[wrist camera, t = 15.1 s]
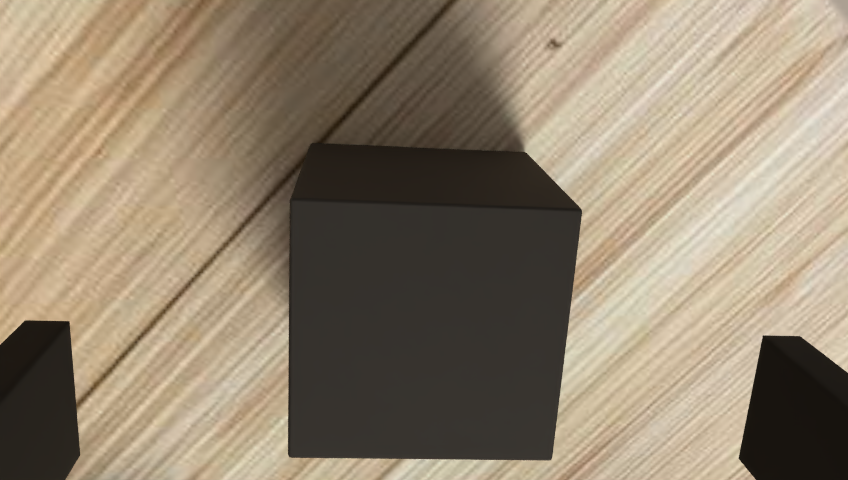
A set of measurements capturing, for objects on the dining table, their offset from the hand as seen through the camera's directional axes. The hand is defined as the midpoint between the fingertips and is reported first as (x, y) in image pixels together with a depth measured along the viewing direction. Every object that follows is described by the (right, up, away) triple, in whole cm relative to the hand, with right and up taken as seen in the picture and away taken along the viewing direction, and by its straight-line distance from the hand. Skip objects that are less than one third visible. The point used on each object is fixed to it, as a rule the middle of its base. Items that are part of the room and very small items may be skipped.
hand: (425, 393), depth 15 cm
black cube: (0, +3, +8) cm, 8 cm away
